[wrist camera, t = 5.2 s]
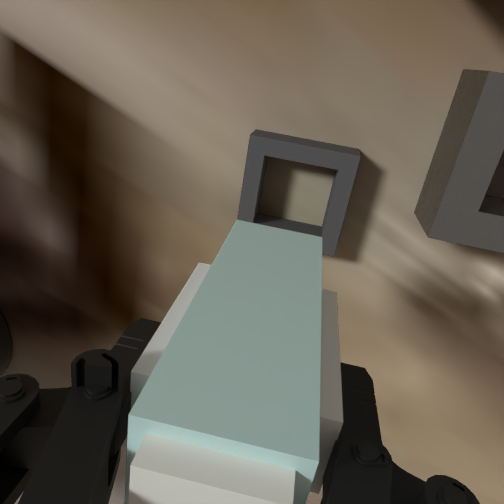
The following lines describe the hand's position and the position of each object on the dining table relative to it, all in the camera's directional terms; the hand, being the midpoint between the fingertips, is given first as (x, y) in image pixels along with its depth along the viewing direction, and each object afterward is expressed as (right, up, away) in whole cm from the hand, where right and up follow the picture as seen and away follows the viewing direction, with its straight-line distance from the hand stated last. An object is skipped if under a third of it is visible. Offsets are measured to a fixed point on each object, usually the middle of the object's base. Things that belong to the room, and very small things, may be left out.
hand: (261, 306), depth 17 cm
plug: (+1, +2, +3) cm, 4 cm away
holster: (+3, +7, +16) cm, 17 cm away
